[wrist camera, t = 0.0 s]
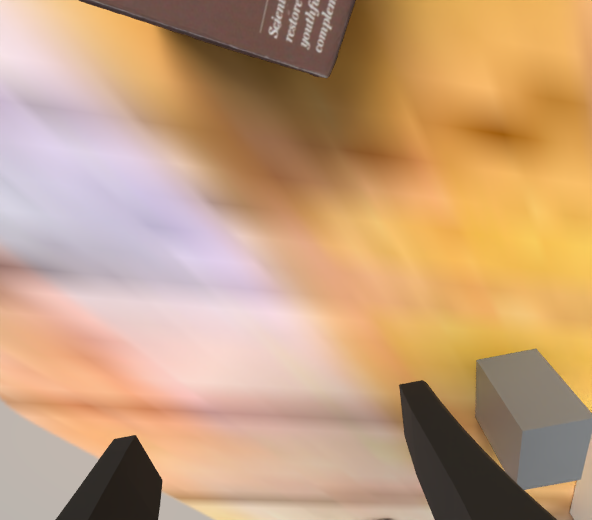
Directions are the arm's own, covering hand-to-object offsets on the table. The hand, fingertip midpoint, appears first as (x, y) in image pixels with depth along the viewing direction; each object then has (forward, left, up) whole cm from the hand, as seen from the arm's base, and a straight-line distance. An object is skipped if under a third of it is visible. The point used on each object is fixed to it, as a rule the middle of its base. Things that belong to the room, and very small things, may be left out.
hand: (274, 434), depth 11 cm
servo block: (-12, -12, -10) cm, 20 cm away
